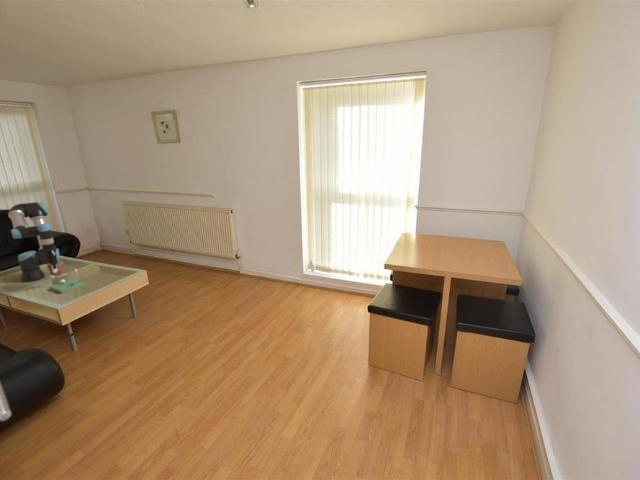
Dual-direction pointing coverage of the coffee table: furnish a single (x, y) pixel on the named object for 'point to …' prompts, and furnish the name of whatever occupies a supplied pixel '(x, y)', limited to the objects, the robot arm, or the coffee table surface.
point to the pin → (76, 272)
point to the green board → (67, 286)
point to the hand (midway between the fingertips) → (55, 272)
